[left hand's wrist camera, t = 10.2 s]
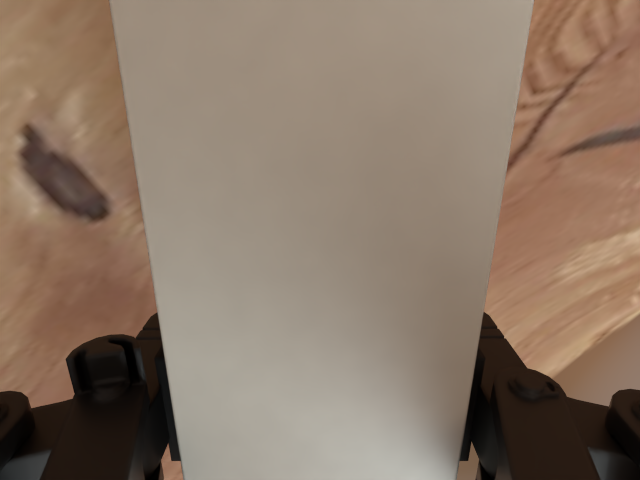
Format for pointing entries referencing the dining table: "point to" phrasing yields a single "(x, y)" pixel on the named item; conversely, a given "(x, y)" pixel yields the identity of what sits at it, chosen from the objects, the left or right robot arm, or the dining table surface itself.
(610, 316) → the dining table surface
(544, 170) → the dining table surface
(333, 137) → the bar
